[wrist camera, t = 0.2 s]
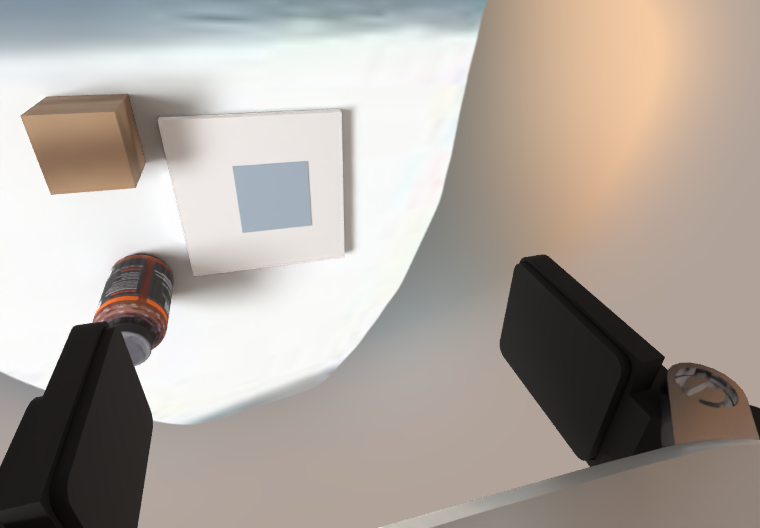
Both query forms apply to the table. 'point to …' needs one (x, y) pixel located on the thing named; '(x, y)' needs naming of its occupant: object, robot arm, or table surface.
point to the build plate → (257, 187)
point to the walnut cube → (85, 142)
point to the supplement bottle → (137, 303)
